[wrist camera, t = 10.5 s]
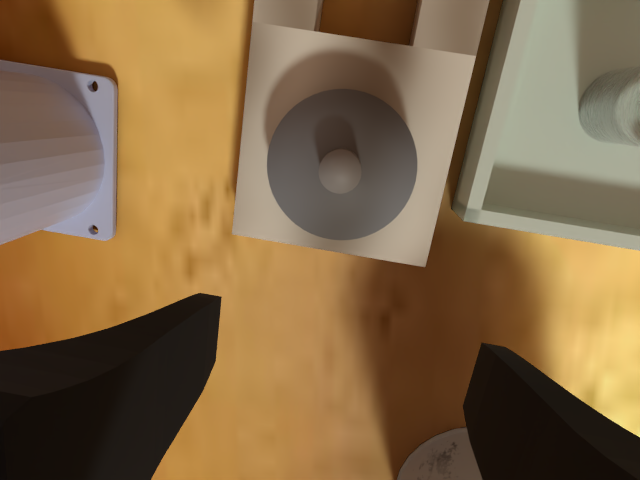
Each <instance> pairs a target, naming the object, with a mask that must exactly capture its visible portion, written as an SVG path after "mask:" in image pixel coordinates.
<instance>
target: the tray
mask: <svg viewBox="0 0 640 480" xmlns="http://www.w3.org/2000/svg"><path fill="white" fill-rule="evenodd" d="M635 66H640V0H503V3H502V7H501V11H500V15H499V19H498V23H497V27H496V31H495V35H494V39H493V43H492V47H491V51H490V55H489V59H488V63H487V67H486V71H485V75H484V79H483V83H482V87H481V91H480V95H479V99H478V103H477V107H476V111H475V115H474V119H473V123H472V127H471V131H470V135H469V139H468V143H467V147H466V151H465V155H464V159H463V163H462V167H461V171H460V175H459V179H458V183H457V188H456V192H455V196H454V200H453V204H452V208H451V209H452V210H453V211H454V212H455V213H456V214H457V215H458V216H459V217H460V218H461V219H462V220H463V221H466V222H472V223H477V224H483V225H489V226H495V227H501V228H507V229H513V230H519V231H525V232H531V233H537V234H543V235H549V236H555V237H561V238H567V239H573V240H579V241H585V242H591V243H597V244H603V245H609V246H615V247H621V248H627V249H633V250H639V251H640V147H637V146H629V145H621V144H613V143H605V142H600V141H597V140H595V139H593V138H591V137H590V136H588V135H587V134H586V133H585V131H584V130H583V128H582V126H581V124H580V121H579V116H578V110H579V104H580V100H581V98H582V95H583V93H584V92H585V90H586V89H587V87H588V86H589V85H590V84H591V83H592V82H593V81H594V80H595V79H596V78H598V77H599V76H601V75H603V74H605V73H607V72H609V71H612V70H617V69H623V68H629V67H635Z"/></svg>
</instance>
